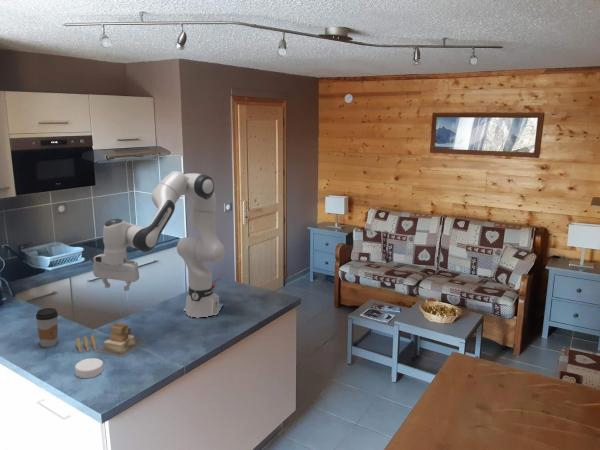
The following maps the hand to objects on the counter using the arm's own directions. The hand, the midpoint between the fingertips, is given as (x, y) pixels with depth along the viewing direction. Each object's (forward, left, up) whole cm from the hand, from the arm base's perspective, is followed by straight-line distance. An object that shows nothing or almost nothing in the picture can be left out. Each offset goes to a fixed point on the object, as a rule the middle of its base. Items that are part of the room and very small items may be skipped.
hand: (117, 288), depth 208 cm
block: (-3, +1, -24) cm, 24 cm away
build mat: (+3, +4, -25) cm, 25 cm away
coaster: (+25, +5, -25) cm, 36 cm away
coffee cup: (+12, -26, -25) cm, 38 cm away
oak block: (+5, +4, -20) cm, 21 cm away
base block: (+5, +4, -24) cm, 25 cm away
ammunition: (+10, -8, -25) cm, 28 cm away
